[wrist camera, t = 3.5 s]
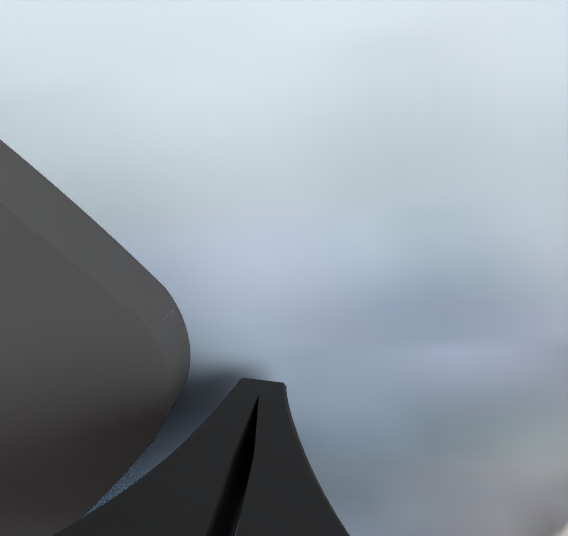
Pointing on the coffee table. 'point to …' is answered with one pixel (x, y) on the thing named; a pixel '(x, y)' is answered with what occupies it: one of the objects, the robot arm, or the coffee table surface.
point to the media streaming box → (74, 356)
